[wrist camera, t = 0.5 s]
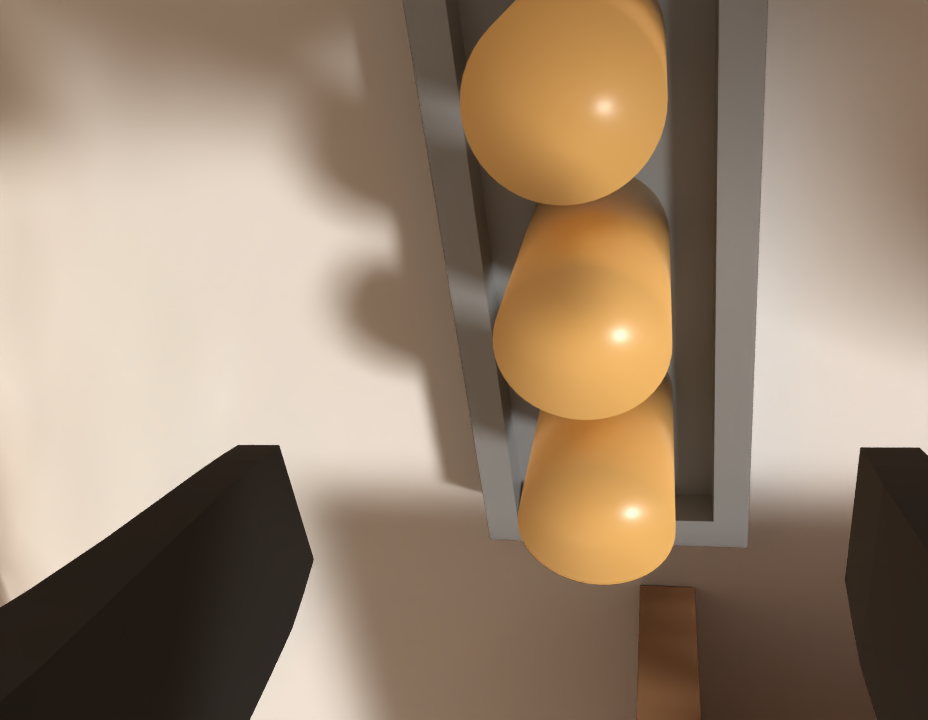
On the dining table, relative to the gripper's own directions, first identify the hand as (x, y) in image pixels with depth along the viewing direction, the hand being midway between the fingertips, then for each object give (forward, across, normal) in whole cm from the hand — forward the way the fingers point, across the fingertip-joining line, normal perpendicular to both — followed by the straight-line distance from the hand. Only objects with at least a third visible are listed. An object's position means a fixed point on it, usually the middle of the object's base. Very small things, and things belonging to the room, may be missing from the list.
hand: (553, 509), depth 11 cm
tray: (+10, 0, -1) cm, 10 cm away
